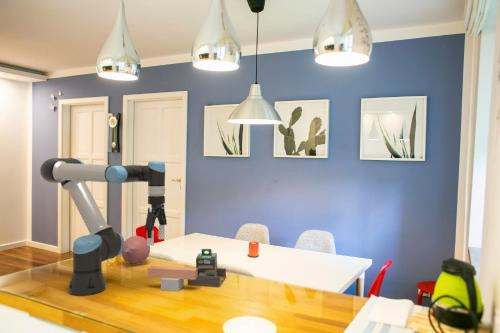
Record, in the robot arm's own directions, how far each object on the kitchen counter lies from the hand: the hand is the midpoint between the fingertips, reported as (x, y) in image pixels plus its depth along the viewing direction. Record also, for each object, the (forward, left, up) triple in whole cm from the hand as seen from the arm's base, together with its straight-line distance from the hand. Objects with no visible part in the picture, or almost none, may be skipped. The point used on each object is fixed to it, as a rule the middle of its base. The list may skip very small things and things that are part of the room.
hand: (156, 242), depth 178 cm
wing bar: (0, -8, -16) cm, 17 cm away
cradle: (+12, -21, -21) cm, 32 cm away
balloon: (+33, +26, -21) cm, 47 cm away
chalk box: (+12, -21, -20) cm, 31 cm away
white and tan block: (0, -8, -21) cm, 22 cm away
